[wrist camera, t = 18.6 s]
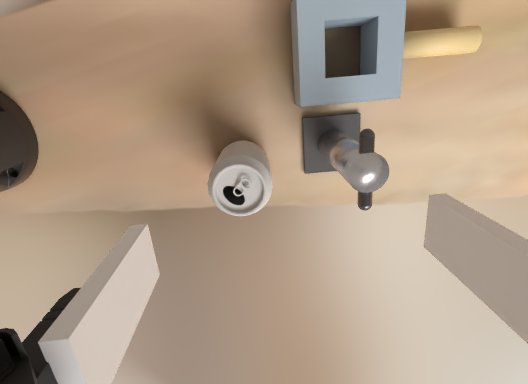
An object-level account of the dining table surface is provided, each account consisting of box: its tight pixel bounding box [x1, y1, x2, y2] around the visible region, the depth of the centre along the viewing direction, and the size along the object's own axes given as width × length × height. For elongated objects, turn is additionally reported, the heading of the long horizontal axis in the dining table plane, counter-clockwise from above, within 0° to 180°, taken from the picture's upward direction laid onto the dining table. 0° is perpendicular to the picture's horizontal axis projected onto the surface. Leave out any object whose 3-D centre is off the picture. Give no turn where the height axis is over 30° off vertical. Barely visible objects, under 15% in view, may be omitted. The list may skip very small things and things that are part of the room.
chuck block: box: [290, 0, 482, 107], centre depth 38 cm, size 22×12×6 cm, turn 95°
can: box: [208, 140, 272, 216], centre depth 40 cm, size 8×8×12 cm
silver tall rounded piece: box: [318, 129, 389, 210], centre depth 37 cm, size 4×8×15 cm, turn 5°
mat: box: [303, 113, 360, 174], centre depth 44 cm, size 8×8×1 cm
